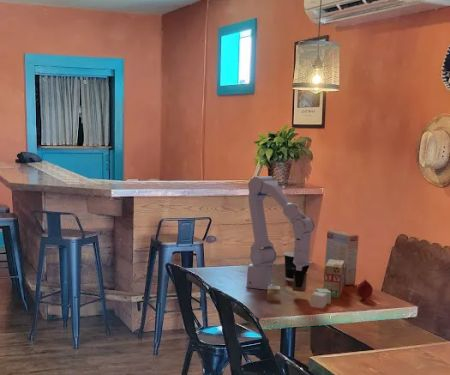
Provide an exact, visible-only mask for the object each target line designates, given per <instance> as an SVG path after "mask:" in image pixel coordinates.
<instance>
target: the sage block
mask: <svg viewBox="0 0 450 375" xmlns="http://www.w3.org/2000/svg"><path fill="white" fill-rule="evenodd" d="M314 292H320V293H326V294H327V300H326V305H331V303H332V302H331V299H332V297H331V292H330V291H329V290H328V289H323V288H315V291H314Z"/></svg>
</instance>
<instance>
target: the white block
mask: <svg viewBox="0 0 450 375" xmlns="http://www.w3.org/2000/svg"><path fill="white" fill-rule="evenodd" d="M326 300H327V294H326V293H320V292H315V291H314V292H312V293H311V294H310V306H309V307H312V308H317V309H324V308H325V307H326V306H327V304H326Z"/></svg>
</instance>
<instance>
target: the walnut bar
mask: <svg viewBox="0 0 450 375" xmlns="http://www.w3.org/2000/svg"><path fill="white" fill-rule="evenodd" d="M307 277H308V274H307V272H306V274H305V276H304V280H303V285H302V287H296V284H295V277H293V281H292V291H294V292H303V293H305V292H306V291H307V279H308V278H307Z"/></svg>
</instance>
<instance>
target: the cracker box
mask: <svg viewBox="0 0 450 375" xmlns="http://www.w3.org/2000/svg"><path fill="white" fill-rule="evenodd" d="M359 237H360V236H359V235H357V234H354V233H349V232H346V231H342V230H338V229H330V230H329V229H328V230H327V233H326V245H325V247H326V248H325V257H324V258H325V259H324V266H325V265H326V264H327V262H328V260H329V259H333V260H343V261H344V264H346V265H345V281H344V286H349V285H355V284H356V277H357V276H356V275H357V264H358V248H359ZM323 271H324V273H323V276H324V275H325V269H323Z"/></svg>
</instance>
